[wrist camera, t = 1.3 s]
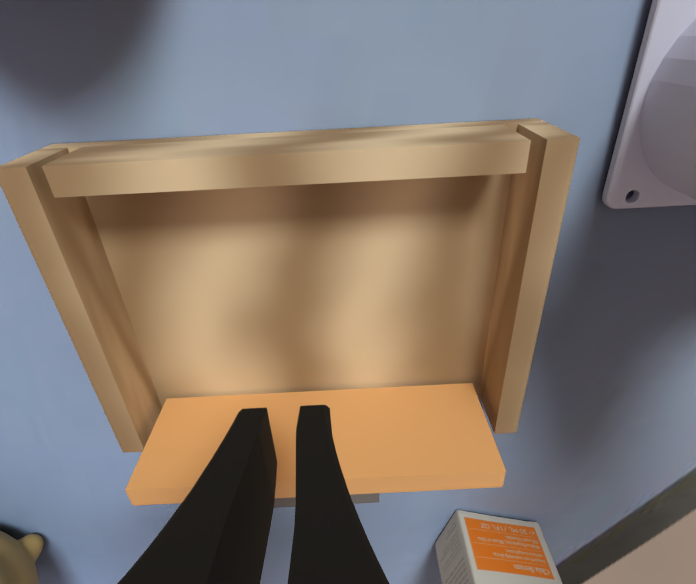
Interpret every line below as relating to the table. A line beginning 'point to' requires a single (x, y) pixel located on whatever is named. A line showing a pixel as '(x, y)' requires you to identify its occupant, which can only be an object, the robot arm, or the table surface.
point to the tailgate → (349, 439)
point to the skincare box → (493, 551)
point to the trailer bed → (299, 260)
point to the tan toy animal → (19, 559)
